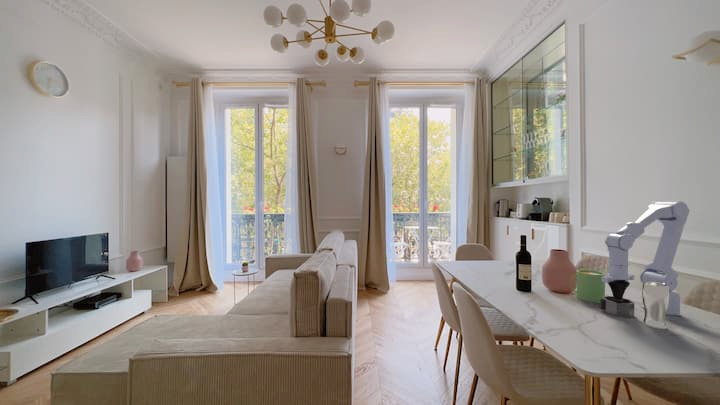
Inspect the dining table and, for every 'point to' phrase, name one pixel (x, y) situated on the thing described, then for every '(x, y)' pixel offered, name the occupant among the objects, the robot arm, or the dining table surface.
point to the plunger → (617, 300)
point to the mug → (589, 285)
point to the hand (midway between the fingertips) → (617, 299)
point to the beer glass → (655, 304)
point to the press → (617, 307)
